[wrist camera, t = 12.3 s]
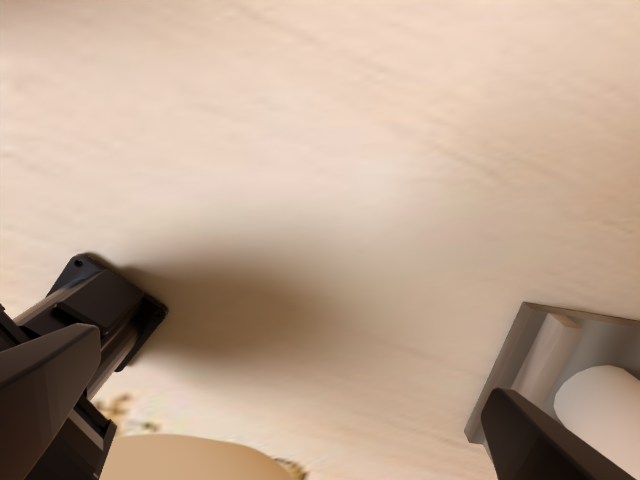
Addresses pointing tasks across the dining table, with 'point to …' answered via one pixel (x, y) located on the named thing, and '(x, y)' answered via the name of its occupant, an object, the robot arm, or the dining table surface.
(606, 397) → the white cup
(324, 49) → the dining table surface
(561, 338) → the holder
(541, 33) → the dining table surface
